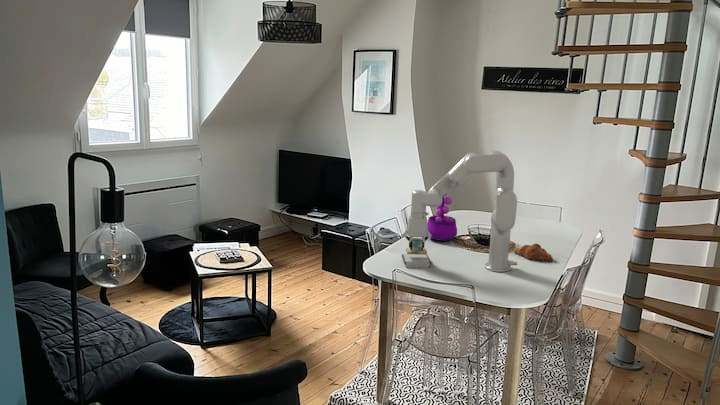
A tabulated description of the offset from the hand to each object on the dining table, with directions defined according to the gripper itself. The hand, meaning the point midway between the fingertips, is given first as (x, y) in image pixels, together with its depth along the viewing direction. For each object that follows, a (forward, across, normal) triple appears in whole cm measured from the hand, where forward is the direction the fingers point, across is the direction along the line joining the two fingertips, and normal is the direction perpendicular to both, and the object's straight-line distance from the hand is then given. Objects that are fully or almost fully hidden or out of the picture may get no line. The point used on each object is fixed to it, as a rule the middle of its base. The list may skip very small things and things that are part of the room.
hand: (416, 248), depth 270 cm
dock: (+8, 0, 0) cm, 8 cm away
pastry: (+8, -66, -11) cm, 67 cm away
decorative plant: (+8, -21, -43) cm, 49 cm away
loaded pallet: (+2, 0, 0) cm, 2 cm away
